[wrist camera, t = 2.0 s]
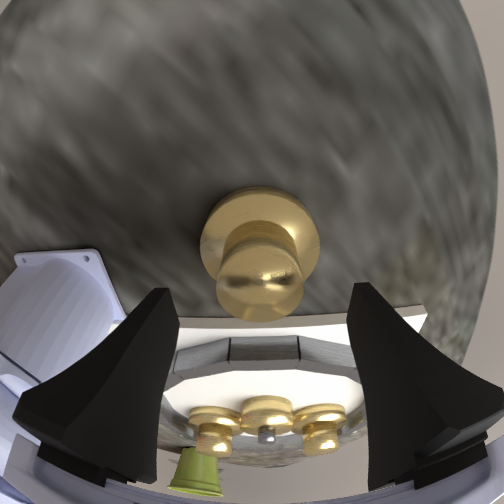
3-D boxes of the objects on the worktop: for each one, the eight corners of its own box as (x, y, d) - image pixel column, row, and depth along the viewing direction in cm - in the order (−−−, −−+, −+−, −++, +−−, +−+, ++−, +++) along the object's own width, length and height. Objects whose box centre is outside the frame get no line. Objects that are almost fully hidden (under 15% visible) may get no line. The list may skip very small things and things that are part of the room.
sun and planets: (196, 424, 28) (191, 456, 24) (176, 391, 23) (168, 433, 19) (339, 421, 27) (343, 454, 23) (356, 387, 22) (365, 429, 18)
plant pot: (226, 459, 41) (223, 498, 34) (177, 453, 41) (172, 490, 33) (226, 447, 36) (223, 494, 29) (169, 439, 36) (161, 484, 28)
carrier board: (181, 429, 32) (180, 435, 31) (106, 313, 19) (101, 322, 18) (354, 426, 30) (355, 432, 30) (422, 304, 18) (427, 313, 17)
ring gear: (184, 434, 30) (182, 447, 29) (114, 330, 18) (105, 350, 17) (351, 431, 29) (353, 444, 28) (415, 322, 17) (425, 343, 15)
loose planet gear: (212, 282, 17) (200, 338, 13) (197, 188, 14) (173, 231, 10) (311, 279, 17) (323, 336, 13) (317, 183, 13) (340, 225, 10)
